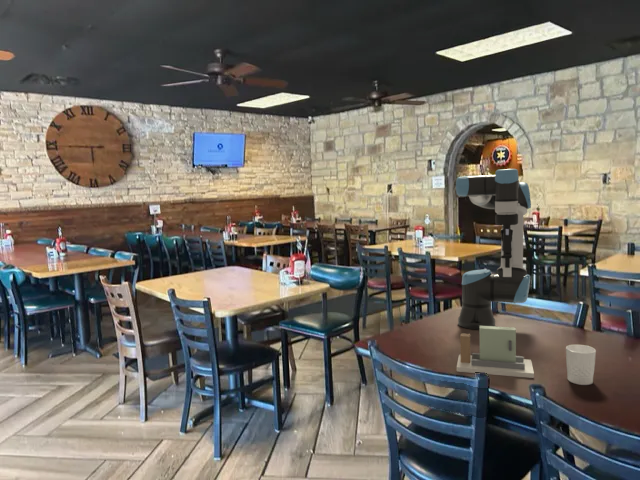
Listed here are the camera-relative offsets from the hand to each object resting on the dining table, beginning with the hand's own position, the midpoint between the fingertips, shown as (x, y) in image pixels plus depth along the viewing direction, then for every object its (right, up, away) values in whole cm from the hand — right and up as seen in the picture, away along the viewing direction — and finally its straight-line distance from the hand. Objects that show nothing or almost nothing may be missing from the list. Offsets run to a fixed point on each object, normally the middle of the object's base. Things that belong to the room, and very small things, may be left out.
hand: (506, 272), depth 173 cm
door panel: (-9, -29, -14) cm, 33 cm away
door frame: (-8, -30, -14) cm, 34 cm away
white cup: (+12, -31, -27) cm, 43 cm away
